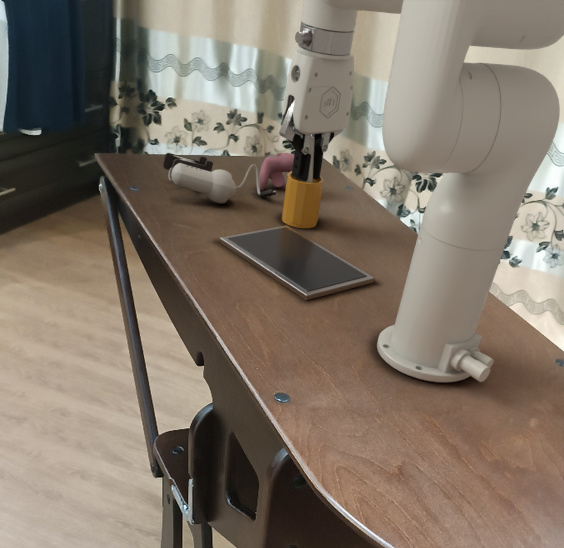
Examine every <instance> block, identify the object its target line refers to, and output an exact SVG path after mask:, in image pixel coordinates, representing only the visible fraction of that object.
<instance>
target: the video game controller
mask: <svg viewBox="0 0 564 548" xmlns="http://www.w3.org/2000/svg"><path fill="white" fill-rule="evenodd" d="M293 161H294V153H288V152H278V153H270V154H269V155H268V156H266V158H264V160H263V161H262V164H261V166H260V170H259V173H258V176H259V188H260V192H263V191H265V189H266V187H267V184H268V183H269V180H271V183H272V186H273V187H274V188H275V189H276V188H277V189H281V188H283V187H284V185H285V184H286V181H285V176H284V174H283V173H289V172H291V171H292V168H293Z"/></svg>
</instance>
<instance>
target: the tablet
mask: <svg viewBox="0 0 564 548" xmlns="http://www.w3.org/2000/svg"><path fill="white" fill-rule="evenodd" d="M219 244H221V245H222V246H224V247H225V248H227V249H228V250H229V251H232V252H233V253H234V254H236V255H237V256H239V257H240V258H242V259H243V260H245V261H246V262H248V263H249V264H251V265H252V266H254V267H255V268H257V269H258V270H260V271H261V272H263V273H264V274H265V275H267V276H268V277H270V278H272V279H273V280H275V281H276V282H277V283H279V284H281V285H282V286H284V287H285V288H286V289H288V290H289V291H291V292H293V293H294V294H295V295H297V296H298V297H300V298H301V299H303V300H304V301H308V300H314V299H317V298H320V297H324V296H328V295H332V294H336V293H340V292H344V291H347V290H351V289H354V288H355V289H356V288H359V287H362V286H366V285H370V284H373V283H374V280H375V277H374V276H372V275H371V274H369V273H368V272H366V271H364V270H362V269H360V268H359V267H357V266H355V265H354V264H352V263H350V262H349V261H348V260H345V259H344V258H342V257H341V256H339V255H338V254H336V253H334V252H332V251H331V250H329V249H327V248H326V247H324V246H322V245H320V244H319V243H317V242H315V241H314V240H312V239H310V238H309V237H307V236H306V235H304V234H302V233H301V232H299V231H297V230H296V229H294V228H292V227H291V226H290V225H287V224H285V225H280V226H275V227H270V228H264V229H259V230H253V231H248V232H242V233H238V234H232V235H226V236H220V237H219Z"/></svg>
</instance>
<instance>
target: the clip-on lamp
mask: <svg viewBox="0 0 564 548" xmlns="http://www.w3.org/2000/svg"><path fill="white" fill-rule="evenodd" d="M162 162H163V163H162V167H163V169H165V170H167V171H168V180H169V182H170V183H171V182H172V183H173V184H174V185H175V186H177V187H181V188H184V189H187V190H191V191H195V192H198V193H201V194H204V195H207V197H208V199H210V200H211V202H214V203H216V204H226V203H227V201H228V200H230V199H232V198H234V196H235V195H236V193H237V191H238V190H240V189H242V188H243V186H244V185H245V183H246V181H247V178H248V176H249V174H250V172H251V170H252V168H254V170H255V176H256V191H257V194H258V195H259V197H262V198H265V199H266V198H268V197H272V196H276V195H277V193H278V191H277V190H276V189H274V188H273V189H272V188H271V189H266V190H262V191H261V190H260V188H259V169H258V167H257V165H256V164H255V163H251V165H249V167H248V169H247V171H246V173H245V176H244V178H243V180H242V182H241V183H240V185H238V186H237V184H236V182H235V181H234V179H233V175H232V174H231V172H229V171H228V170H225V169H222V168H219V169H215V170H213V166H214V162H213V161H211V160H208V158H207V157H205V156H202V155H201V156H199V158H198V160H197V159H193V158H190V157H186V156H182V155H179V154H175V153H171V152H166V153H165V154H164V157H163V161H162ZM212 170H213V171H212Z"/></svg>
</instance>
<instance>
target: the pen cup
mask: <svg viewBox="0 0 564 548" xmlns="http://www.w3.org/2000/svg"><path fill="white" fill-rule="evenodd" d="M324 183H325V178H324V177H323V176H322V175H320V178H319V179H316V180H315V179H313V183H307V182H302V181H301V180H300V179H298V178H296V177H294V176H293V175H292V171H291V172H287V174H286V181H285V189H284V198H283V203H282V205H283V206H282V211H281V212H282V213H281V221H282V222H283V223H284V224H285V225H287V226H289V227H291V228H292V227H293V228H297V229H313V228H315V227H316V226H317V224H318V222H319V221H318V220H319V214H320V209H321V204H322V203H321V201H322V197H323V191H324Z"/></svg>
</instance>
